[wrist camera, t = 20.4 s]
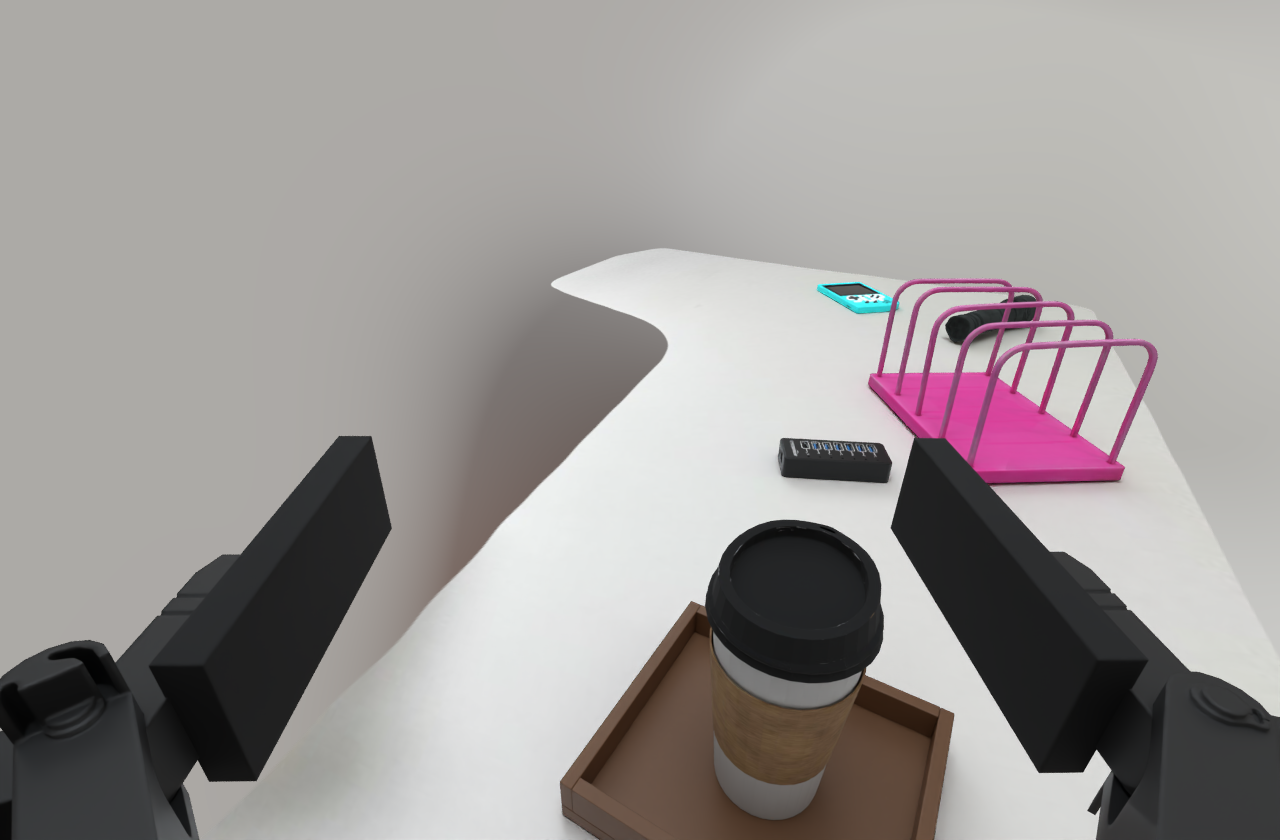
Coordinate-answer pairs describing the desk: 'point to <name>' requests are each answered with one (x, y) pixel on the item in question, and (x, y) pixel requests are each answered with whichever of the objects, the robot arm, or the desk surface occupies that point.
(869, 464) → the multiport hub
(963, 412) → the file sorter
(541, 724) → the desk surface
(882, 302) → the handheld game console
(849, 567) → the coffee cup
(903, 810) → the tray
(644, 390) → the desk surface
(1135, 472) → the desk surface
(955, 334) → the flashlight
